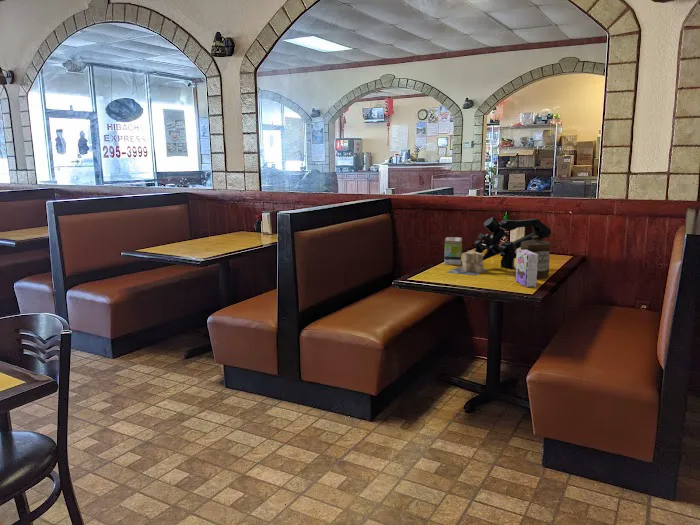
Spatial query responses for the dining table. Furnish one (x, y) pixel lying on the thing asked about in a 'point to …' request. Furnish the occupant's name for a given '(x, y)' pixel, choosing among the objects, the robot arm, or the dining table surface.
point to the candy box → (526, 268)
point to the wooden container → (539, 254)
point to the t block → (472, 261)
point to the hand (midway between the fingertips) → (477, 258)
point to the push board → (459, 271)
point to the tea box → (453, 250)
